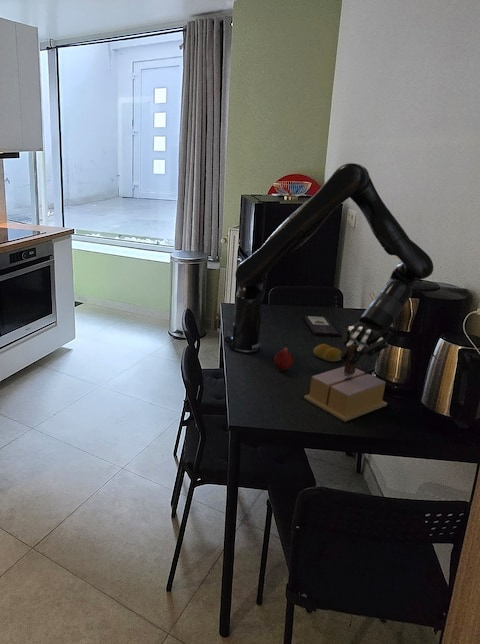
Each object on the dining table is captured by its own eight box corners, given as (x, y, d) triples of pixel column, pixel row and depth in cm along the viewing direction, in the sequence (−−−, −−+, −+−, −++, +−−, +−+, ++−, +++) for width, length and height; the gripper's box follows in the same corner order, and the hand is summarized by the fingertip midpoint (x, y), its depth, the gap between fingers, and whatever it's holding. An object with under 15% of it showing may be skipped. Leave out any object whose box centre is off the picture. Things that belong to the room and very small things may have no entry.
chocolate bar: (315, 332, 186) (304, 316, 203) (314, 334, 187) (304, 318, 204) (339, 333, 185) (326, 317, 202) (339, 336, 186) (326, 319, 203)
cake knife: (344, 401, 138) (352, 348, 133) (338, 398, 139) (347, 346, 134) (351, 398, 139) (360, 346, 134) (345, 395, 141) (354, 344, 136)
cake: (344, 421, 129) (349, 397, 127) (303, 398, 141) (306, 375, 139) (387, 405, 138) (391, 382, 135) (344, 384, 149) (348, 362, 147)
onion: (282, 376, 154) (285, 353, 152) (269, 368, 159) (271, 346, 157) (295, 372, 157) (298, 349, 154) (282, 365, 162) (285, 343, 159)
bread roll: (335, 364, 162) (336, 353, 161) (310, 355, 169) (311, 345, 168) (346, 357, 167) (348, 347, 166) (321, 349, 174) (323, 339, 173)
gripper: (355, 298, 140) (320, 345, 138) (401, 313, 129) (363, 364, 127) (364, 313, 144) (330, 358, 142) (409, 328, 133) (373, 378, 131)
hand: (346, 361), depth 135 cm, fingers closed on cake knife, 2 cm apart
